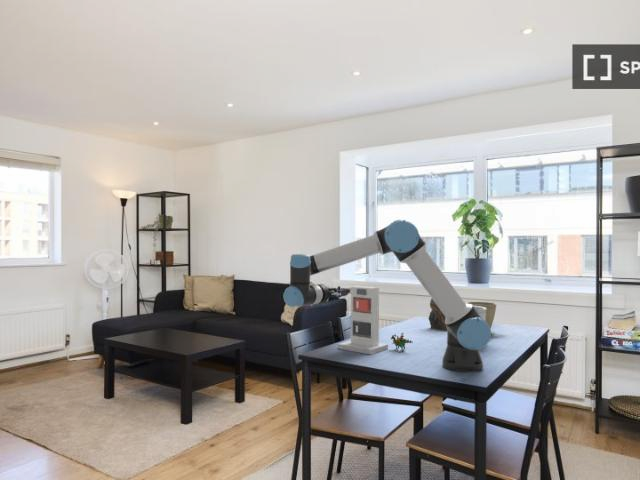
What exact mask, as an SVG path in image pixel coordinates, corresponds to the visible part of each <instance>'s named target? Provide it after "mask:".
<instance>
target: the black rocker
mask: <svg viewBox="0 0 640 480" xmlns="http://www.w3.org/2000/svg"><path fill="white" fill-rule="evenodd" d="M353 334H357V335H367V336H370V335H371V324H363V323H353Z"/></svg>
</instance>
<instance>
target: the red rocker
mask: <svg viewBox="0 0 640 480" xmlns="http://www.w3.org/2000/svg"><path fill="white" fill-rule="evenodd" d="M355 310H360V311H366V312H369V300H364V299H355Z"/></svg>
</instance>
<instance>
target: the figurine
mask: <svg viewBox="0 0 640 480" xmlns="http://www.w3.org/2000/svg"><path fill="white" fill-rule="evenodd" d="M390 340H392V342H391V344H392V345H393V344H394V345H395V349H394V350H395V351H396V350H398V349H399V348H401V349H400V350H399V352H403V351H404V352H405V349H406V344H413V343H414V342H413V341H412V340H409V339H408V338H404V332H401V334H400V336H399V335H397V334H396V333H395V334H392V335H391V338H390Z"/></svg>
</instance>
